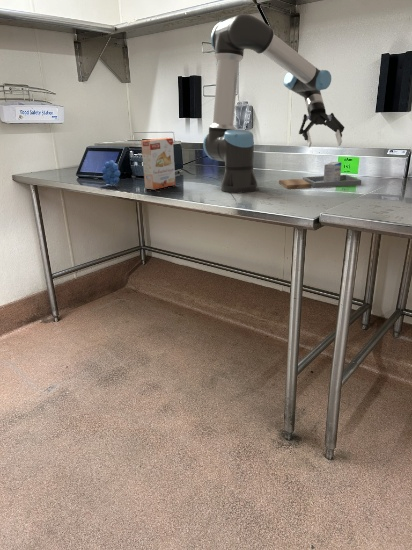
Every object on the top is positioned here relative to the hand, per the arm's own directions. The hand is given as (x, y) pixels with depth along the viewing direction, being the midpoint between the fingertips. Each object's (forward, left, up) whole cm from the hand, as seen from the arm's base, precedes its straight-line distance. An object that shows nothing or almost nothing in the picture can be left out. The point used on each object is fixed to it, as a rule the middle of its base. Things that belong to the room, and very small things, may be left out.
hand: (325, 144), depth 179 cm
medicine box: (0, -11, -15) cm, 19 cm away
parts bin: (0, -10, -15) cm, 18 cm away
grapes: (-95, +15, -15) cm, 97 cm away
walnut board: (-16, -10, -15) cm, 24 cm away
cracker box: (-73, +3, -15) cm, 75 cm away
